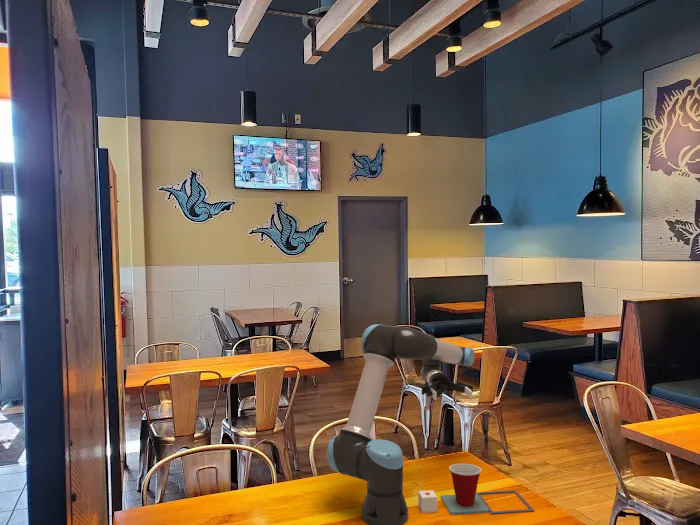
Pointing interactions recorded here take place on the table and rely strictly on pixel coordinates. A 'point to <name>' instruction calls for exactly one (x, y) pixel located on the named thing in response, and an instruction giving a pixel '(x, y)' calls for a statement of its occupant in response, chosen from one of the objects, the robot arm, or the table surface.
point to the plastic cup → (465, 482)
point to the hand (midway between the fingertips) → (453, 395)
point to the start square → (506, 511)
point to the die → (427, 501)
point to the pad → (458, 509)
